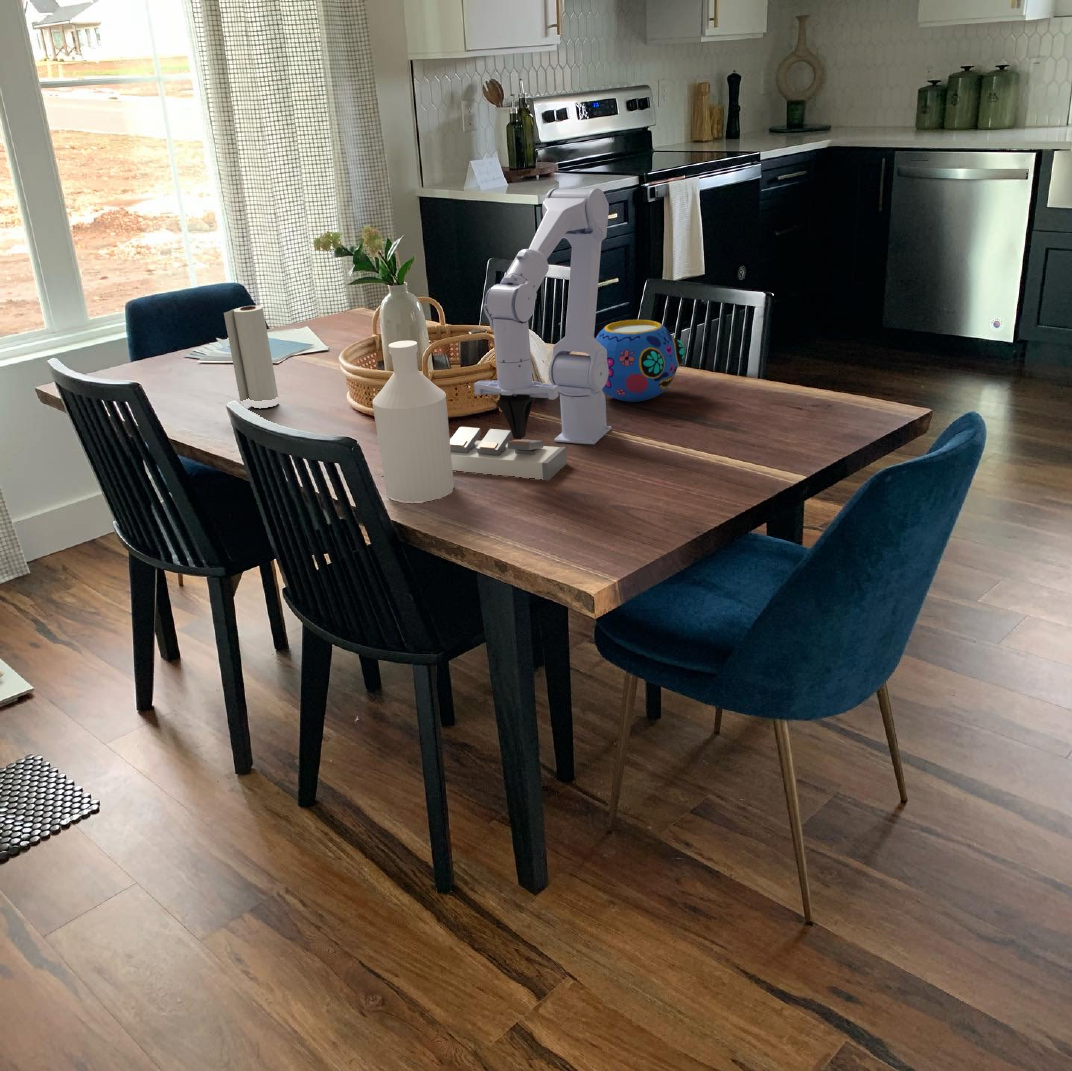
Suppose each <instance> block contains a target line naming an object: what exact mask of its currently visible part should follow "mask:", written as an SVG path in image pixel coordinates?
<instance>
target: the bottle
mask: <svg viewBox="0 0 1072 1071" xmlns="http://www.w3.org/2000/svg"><path fill="white" fill-rule="evenodd" d="M418 351H419V347H418V342H417V341H416V340H398V341H394V342H391V343H388V352H389V355H391V361H392V368H393V373H392V375H391V376H390V377H389V379H388V380H387V381H386V383H385V384H384V386H383V387H382V389H381V390H379V391H378V392H377V394H376V395H375V397H374V398H373V400H372V401H371V402H372V407H373V408H372V410H373V413H374V414H373V415H374V416H373V417H374V422H375V428H376V434H377V435H376V436H377V441H378V448H379V453H380V461H381V467H382V472H383V482H384V487H385V494H386V493H387V495H388V496H391V497H392V498H394V499H399V500H403V501H412V502H415V501H426V500H432V499H437V498H439V497H442V496H445V495H446V494H447V493H450V492H451V491H452V490H453V488H454V489H455V486H454V485H455V484H454V474H453V473H454V471H452V461H451V449H450V438H451V437H450V429H449V427H450V426H449V417H448V406H447V405H448V404H447V394H446V392H445V391H444V390H443V389H442V388H440V387H439V386H437V385H436V384H434V383H433V382H432V381H431V380H430V379H429V378H427V376H425V374H424V373H422V372H421V371H420V370H419V369H418V356H417V353H418ZM453 491H454V490H453ZM453 491H452V492H453ZM452 492H451V493H452ZM451 493H450V494H451ZM387 495H386V496H387Z"/></svg>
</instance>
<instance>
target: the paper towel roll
mask: <svg viewBox="0 0 1072 1071" xmlns="http://www.w3.org/2000/svg"><path fill="white" fill-rule="evenodd" d="M264 312H265V311H264V307H263V306H262V305H247V306H241V307H238V308H237V307H236V308H233V309H231V310H229V311H226V312H223V315H224V316H223V317H224V321H225V322H224V323H225V328H226V331H227V336H228V343H229V348H230V349H229V350H230V354H231V359H232V364H233V370H234V375H235V381H236V386H237V391H238V396H239V402H240V401H243V400H246V399H248V398H249V399H250V400H254V401H262V400H272V399H275V398H276V397H278V398H279V394H278V387H277V383H276V375H275V370H274V363H273V359H272V353H271V352H272V351H271V347H270V340H269V335H268V330H267V324H266V318H265V313H264Z"/></svg>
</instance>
